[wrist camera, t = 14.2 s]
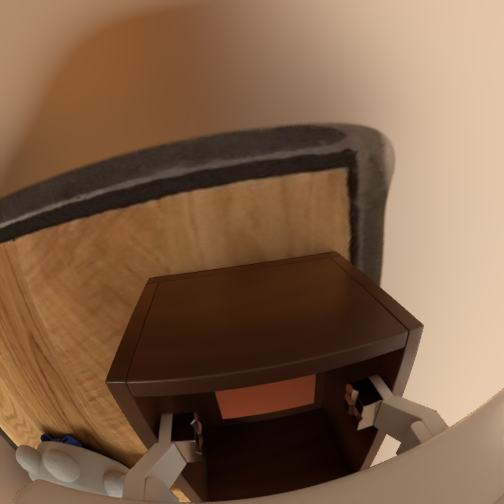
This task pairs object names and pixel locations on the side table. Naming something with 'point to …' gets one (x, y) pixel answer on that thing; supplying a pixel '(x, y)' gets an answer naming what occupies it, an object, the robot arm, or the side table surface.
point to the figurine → (73, 466)
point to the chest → (263, 369)
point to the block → (266, 397)
